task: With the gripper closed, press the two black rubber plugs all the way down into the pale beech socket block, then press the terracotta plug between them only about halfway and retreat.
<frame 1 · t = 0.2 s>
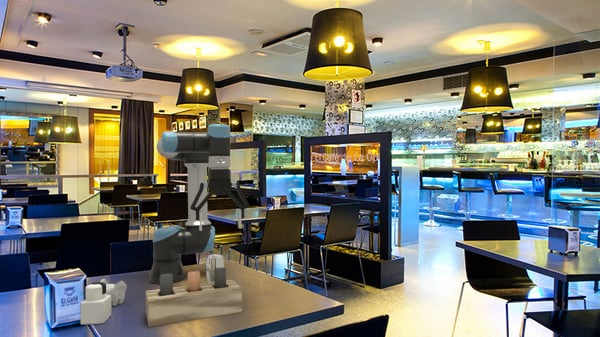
hand: (220, 229, 143), 28 cm above the table, fingers open, 13 cm apart
terracotta plug: (193, 283, 138), point 10 cm above the table, slide at 0.0 cm
socket block: (194, 313, 138), on the table
black plug near: (166, 286, 134), point 10 cm above the table, slide at 0.0 cm
black plug far: (220, 280, 142), point 10 cm above the table, slide at 0.0 cm
elephant figurine: (110, 305, 148), on the table
medicine bottle: (96, 320, 133), on the table
beer glass: (215, 295, 158), on the table
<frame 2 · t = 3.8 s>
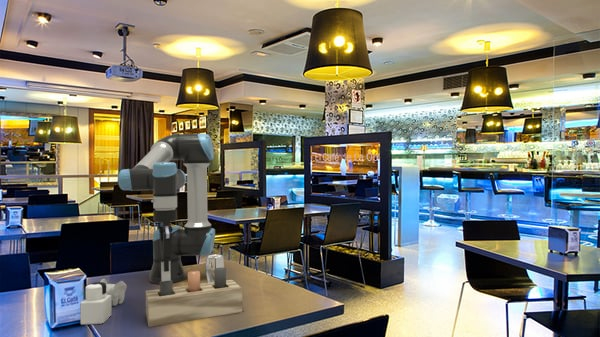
hand: (166, 280, 134), 12 cm above the table, fingers closed
black plug near: (166, 293, 134), point 8 cm above the table, slide at 2.0 cm, touching gripper
everything else where it was.
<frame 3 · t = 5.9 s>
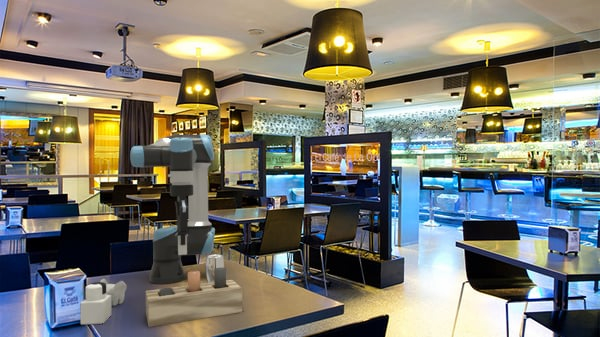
hand: (182, 254, 136), 20 cm above the table, fingers closed
black plug near: (166, 301, 134), point 5 cm above the table, slide at 4.8 cm
everything else where it was.
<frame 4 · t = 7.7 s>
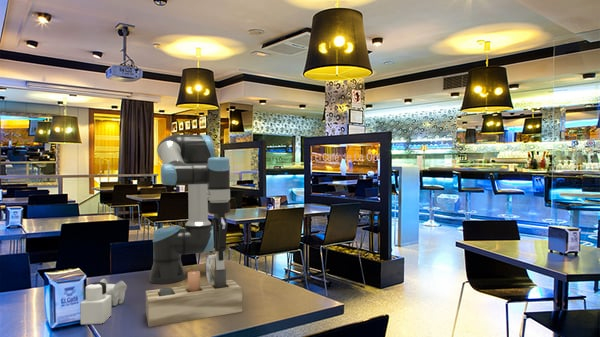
hand: (220, 269, 142), 14 cm above the table, fingers closed
black plug far: (220, 281, 142), point 10 cm above the table, slide at 0.4 cm, touching gripper
everything else where it was.
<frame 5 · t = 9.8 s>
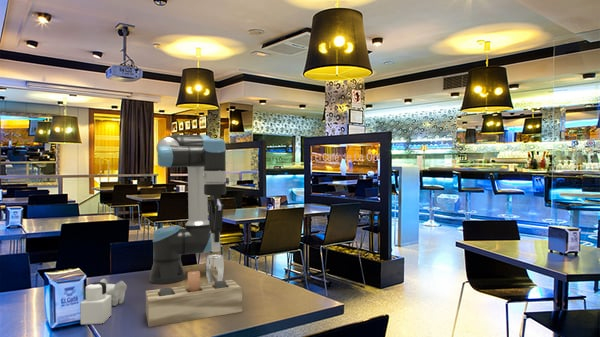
hand: (215, 251, 141), 20 cm above the table, fingers closed
black plug far: (220, 293, 142), point 5 cm above the table, slide at 4.8 cm
everything else where it was.
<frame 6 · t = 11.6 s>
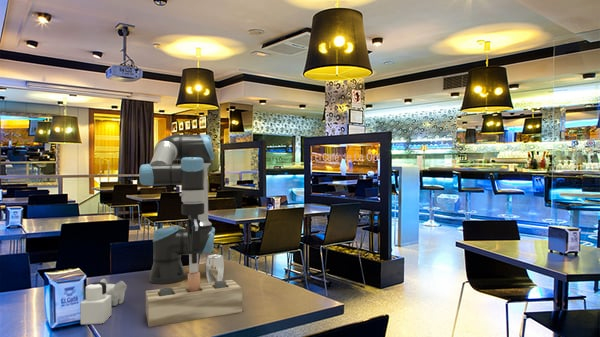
hand: (193, 272, 138), 14 cm above the table, fingers closed
terracotta plug: (194, 284, 138), point 10 cm above the table, slide at 0.4 cm, touching gripper
everything else where it was.
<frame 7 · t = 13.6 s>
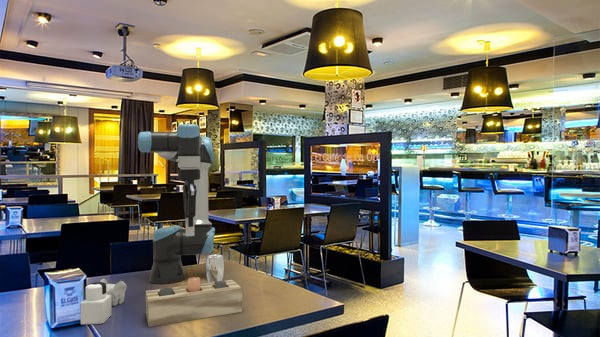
hand: (190, 235, 143), 26 cm above the table, fingers closed
terracotta plug: (194, 290, 138), point 8 cm above the table, slide at 2.3 cm
everything else where it was.
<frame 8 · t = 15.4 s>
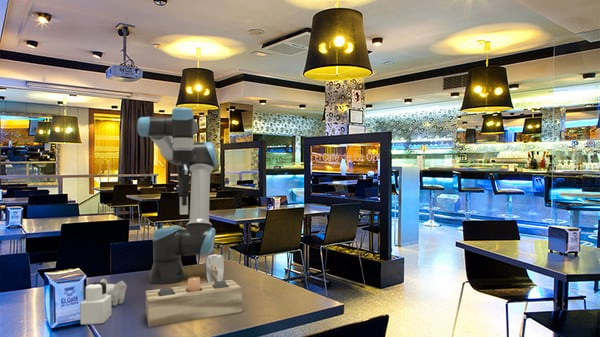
hand: (184, 214, 149), 32 cm above the table, fingers closed
nothing on the table moved.
at the end: black plug near slide at 4.8 cm; black plug far slide at 4.8 cm; terracotta plug slide at 2.3 cm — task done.
